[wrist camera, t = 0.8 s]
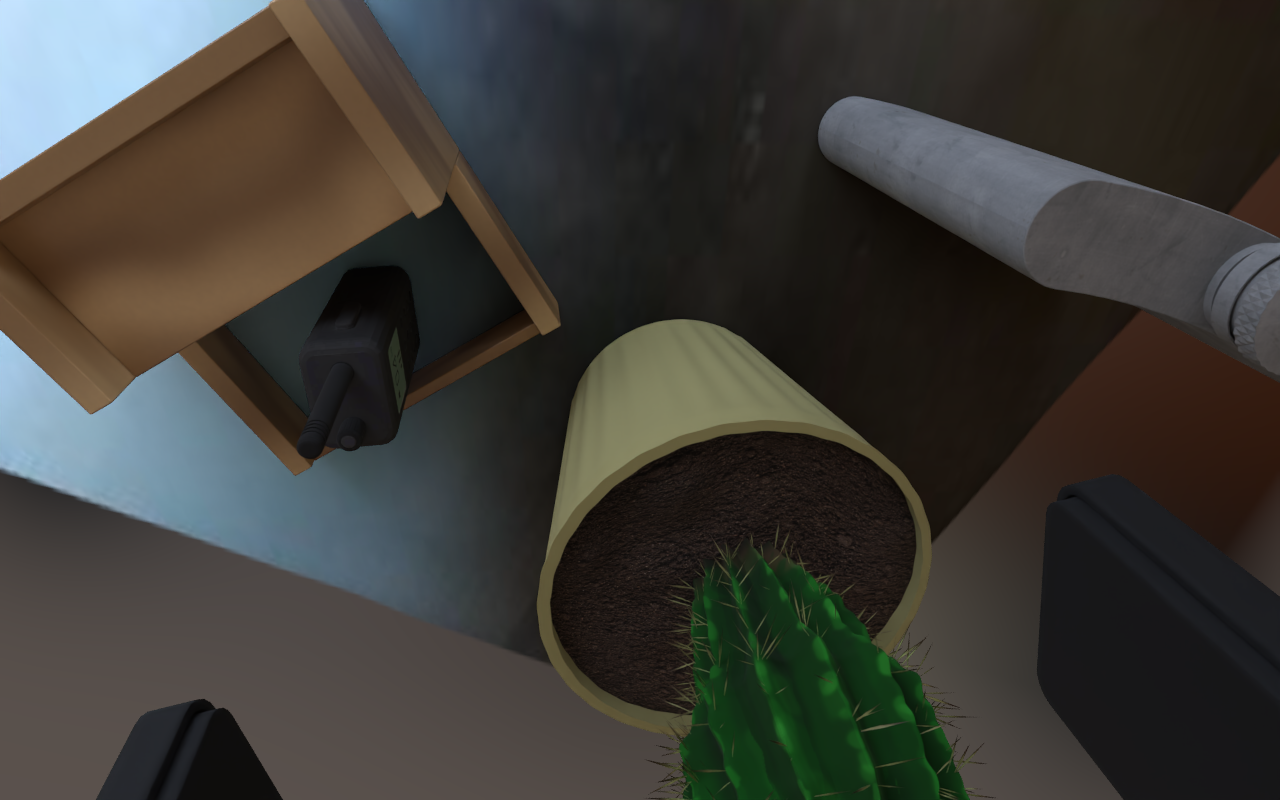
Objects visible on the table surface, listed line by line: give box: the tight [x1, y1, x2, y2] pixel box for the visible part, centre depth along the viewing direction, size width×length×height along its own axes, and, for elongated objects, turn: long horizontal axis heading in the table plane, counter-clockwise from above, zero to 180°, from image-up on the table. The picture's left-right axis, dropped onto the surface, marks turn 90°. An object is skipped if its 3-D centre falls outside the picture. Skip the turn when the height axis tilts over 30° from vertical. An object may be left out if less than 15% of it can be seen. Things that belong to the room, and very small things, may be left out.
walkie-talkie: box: [296, 266, 420, 459], centre depth 32 cm, size 5×3×15 cm
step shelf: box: [0, 0, 561, 476], centre depth 33 cm, size 16×15×10 cm
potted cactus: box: [537, 319, 987, 800], centre depth 31 cm, size 15×15×30 cm
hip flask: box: [818, 96, 1280, 382], centre depth 31 cm, size 16×4×20 cm, turn 67°
